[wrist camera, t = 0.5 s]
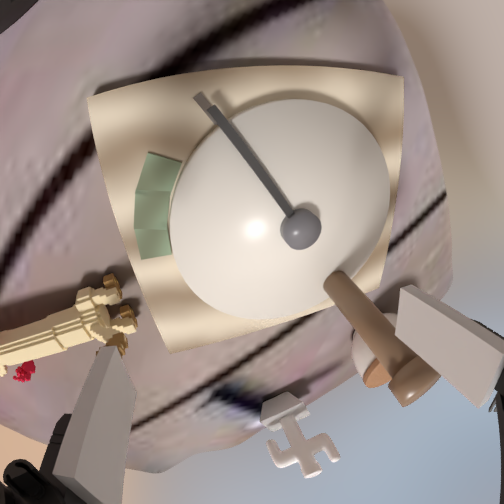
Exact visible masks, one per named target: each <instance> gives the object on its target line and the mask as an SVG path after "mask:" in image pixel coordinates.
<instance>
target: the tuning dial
mask: <svg viewBox="0 0 504 504" xmlns="http://www.w3.org/2000/svg"><path fill="white" fill-rule="evenodd" d="M206 111H207V112H208V114H209V115H210V116H211V117H212V119H213V120H214V121H215V122H216V124H217V125H218V126H217V127H216V128H215V129H214V130H213V131H212V132H210V133H209V134H208V135H207V136H206V137H205V138H204V139H203V141H202V142H201V143H200V144H199V145H198V146H197V148H196V149H195V150H194V151H193V153H192V154H191V156H190V157H189V159H188V161H187V162H186V164H185V165H184V167H183V169H182V171H181V174H180V176H179V178H178V180H177V183H176V186H175V189H174V193H173V196H172V200H171V207H170V215H169V226H170V239H171V245H172V250H173V255H174V259H175V261H176V264H177V267H178V269H179V271H180V273H181V275H182V277H183V279H184V280H185V282H186V283H187V285H188V286H189V287H190V288H191V290H192V291H193V292H194V293H195V294H196V295H197V296H198V297H199V298H200V299H202V300H203V301H204V302H205V303H207V304H208V305H210V306H211V307H213V308H215V309H217V310H219V311H221V312H223V313H226V314H229V315H232V316H235V317H240V318H246V319H260V320H261V319H274V318H280V317H286V316H289V315H293V314H297V313H299V312H302V311H304V310H307V309H309V308H311V307H313V306H315V305H317V304H319V303H321V302H323V301H324V300H326V299H328V298H329V297H330V298H331V299H332V301H333V302H334V303H335V305H336V306H337V307H338V308H339V310H340V311H341V312H342V313H343V315H344V316H345V317H346V319H347V320H348V321H349V322H350V324H351V325H352V326H353V328H354V329H355V330H356V331H357V333H358V334H359V335H360V337H361V338H362V339H363V340H364V342H365V343H366V344H367V346H368V347H369V348H370V350H371V351H372V352H373V354H374V355H375V356H376V358H377V359H378V360H379V362H380V363H381V364H382V366H383V367H384V368H385V370H386V371H387V372H388V374H389V375H390V376H391V378H392V380H391V381H390V382H389V385H388V387H389V389H390V390H391V392H392V393H393V394H394V396H395V397H396V398H397V400H398V401H399V403H400V404H401V406H402V407H405V406H408V405H409V404H411V403H413V402H414V401H416V400H417V399H418V398H419V397H421V396H422V395H423V394H425V393H426V392H427V391H428V390H429V389H430V388H431V387H432V386H433V385H434V384H435V383H436V382H437V380H438V379H439V378H440V377H441V375H440V374H439V373H438V372H437V371H436V370H435V369H433V368H432V367H431V366H430V365H429V364H428V363H427V362H426V361H424V360H423V359H422V358H421V357H420V356H419V355H417V354H416V353H415V352H414V351H413V350H412V349H411V348H409V347H408V346H407V345H406V344H405V343H404V342H402V341H401V340H400V339H399V338H398V337H397V336H395V330H396V328H395V327H394V326H393V325H392V324H391V323H390V321H389V320H388V319H387V318H386V317H385V316H384V315H383V314H382V312H381V311H380V310H379V309H378V308H377V307H376V306H375V305H374V304H373V302H372V301H371V300H370V299H369V298H368V297H367V296H366V295H365V294H364V293H363V292H362V290H361V289H360V288H359V287H358V286H357V285H356V284H355V283H354V282H353V281H352V280H351V279H352V278H353V277H354V276H355V275H356V274H357V273H358V272H359V270H360V269H361V268H362V267H363V265H364V264H365V263H366V261H367V260H368V258H369V257H370V255H371V254H372V252H373V250H374V248H375V247H376V245H377V243H378V241H379V239H380V236H381V234H382V231H383V229H384V225H385V222H386V219H387V214H388V209H389V202H390V180H389V173H388V168H387V164H386V161H385V158H384V155H383V153H382V151H381V148H380V146H379V145H378V143H377V141H376V140H375V138H374V137H373V135H372V134H371V133H370V132H369V130H368V129H367V128H366V127H365V126H364V125H363V124H362V123H361V122H360V121H358V120H357V119H356V118H355V117H354V116H352V115H350V114H349V113H347V112H345V111H344V110H342V109H340V108H337V107H335V106H332V105H329V104H327V103H322V102H317V101H312V100H304V99H282V100H274V101H268V102H265V103H261V104H258V105H254V106H252V107H249V108H247V109H245V110H243V111H241V112H239V113H236V114H235V115H233V116H232V117H230V118H229V119H226V118H225V116H224V115H223V114H222V113H221V111H220V110H219V109H218V107H217V106H216V105H215V104H214V105H212V106H211V107H210V108H208V109H207V110H206Z"/></svg>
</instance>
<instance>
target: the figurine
mask: <svg viewBox="0 0 504 504" xmlns="http://www.w3.org/2000/svg"><path fill="white" fill-rule="evenodd" d="M308 415H310V413H309V412H308V410H307V408H306V406H305V405H304V403H303V402H302V401H301V400H299V399H298V398H296V397H295V396H293V395H292V394H291V393H289V392H288V391H287V392H285V393H282V394H280V395H278V396H276V397H274V398H272V399H270V400H267V401H265V402H263V406H262V412H261V417H260V423H262V424H263V425H264V426H265V427H267V428H268V429H269V430H270V431H272V432H273V431H276V430H278V429H280V428H283V430H284V432H285V434H286V436H287V439H288V441H289V443H290V445H291V448H288V449H286V450H284V451H281V450H280V449H279V447H278V445H277V443H276V441H275V440H268V441H267V442H266V445H267V448H268V450H269V453H270V455H271V457H272V459H273V462H274V463H275V465H276V466H277V467H279V468H284V467H286V466H289V465H291V464H294V463H296V462H299V464H300V466H301V471H302V473H303V475H304V478H312V477H314V476H316V475H318V474H320V473H321V471H322V468H321V466H320V465H319V463H318V462H317V461H316V460H315V458H314V455H315V454H316V453H318V452H320V451H322V450H324V451H325V452H326V453H327V455H328V457H329V459H330V460H331V461H332V462H337V461H338V460H339V459H340V454H339V452H338V451H337V449H336V447H335V445H334V443H333V442H332V440H331V438H330V437H329V436H328V435H327V434H325V433H321V434H319V435H317V436H315V437H313V438H311V439H308V440H305V438H304V436H303V434H302V432H301V430H300V428H299V426H298V423H297V422H296V421H298V420H300V419H302V418H304V417H306V416H308Z"/></svg>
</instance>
